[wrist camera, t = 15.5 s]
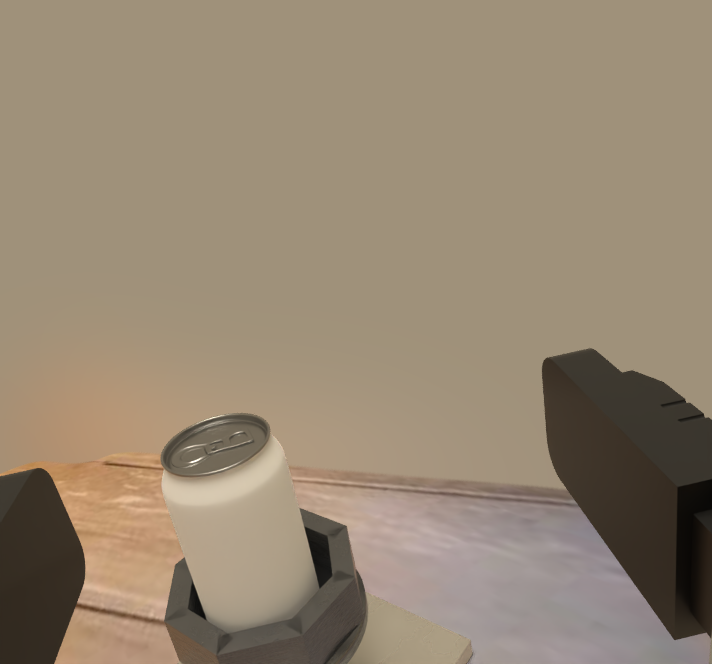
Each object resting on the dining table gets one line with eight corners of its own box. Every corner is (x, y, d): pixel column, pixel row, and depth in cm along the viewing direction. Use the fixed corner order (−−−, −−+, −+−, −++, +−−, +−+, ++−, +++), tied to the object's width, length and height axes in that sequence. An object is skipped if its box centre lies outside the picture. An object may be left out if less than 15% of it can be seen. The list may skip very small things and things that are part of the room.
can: (204, 602, 39) (146, 434, 34) (304, 560, 41) (261, 396, 36) (224, 685, 33) (158, 498, 29) (339, 632, 35) (293, 448, 31)
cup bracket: (292, 568, 51) (263, 461, 47) (472, 653, 41) (454, 526, 37) (118, 738, 40) (61, 616, 36) (307, 911, 30) (257, 768, 26)
